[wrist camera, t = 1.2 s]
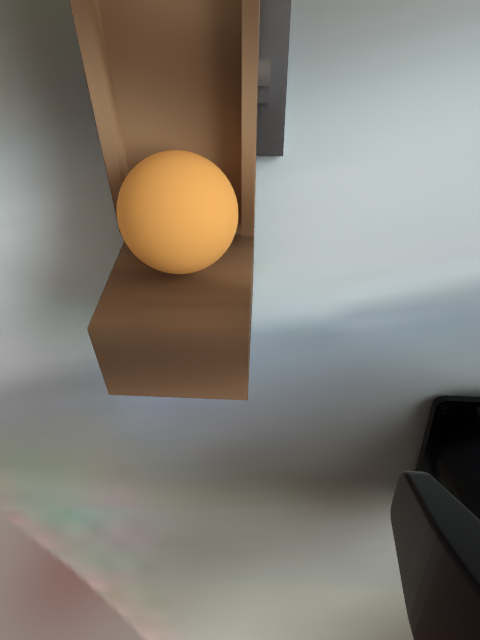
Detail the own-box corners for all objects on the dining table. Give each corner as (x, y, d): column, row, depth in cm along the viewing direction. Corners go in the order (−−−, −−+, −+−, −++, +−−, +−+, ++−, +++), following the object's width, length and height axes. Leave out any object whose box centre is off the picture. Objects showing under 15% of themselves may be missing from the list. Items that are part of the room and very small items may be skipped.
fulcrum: (282, 154, 17) (285, 161, 14) (112, 151, 17) (90, 157, 15) (291, -10, 14) (295, -29, 12) (95, -11, 15) (67, -31, 13)
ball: (240, 245, 16) (234, 298, 13) (140, 242, 16) (111, 294, 13) (241, 138, 14) (235, 171, 11) (126, 136, 14) (88, 168, 11)
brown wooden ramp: (261, 280, 19) (258, 400, 14) (138, 277, 19) (98, 394, 14) (292, -446, 8) (320, -914, 3) (-4, -438, 8) (-357, -869, 3)
